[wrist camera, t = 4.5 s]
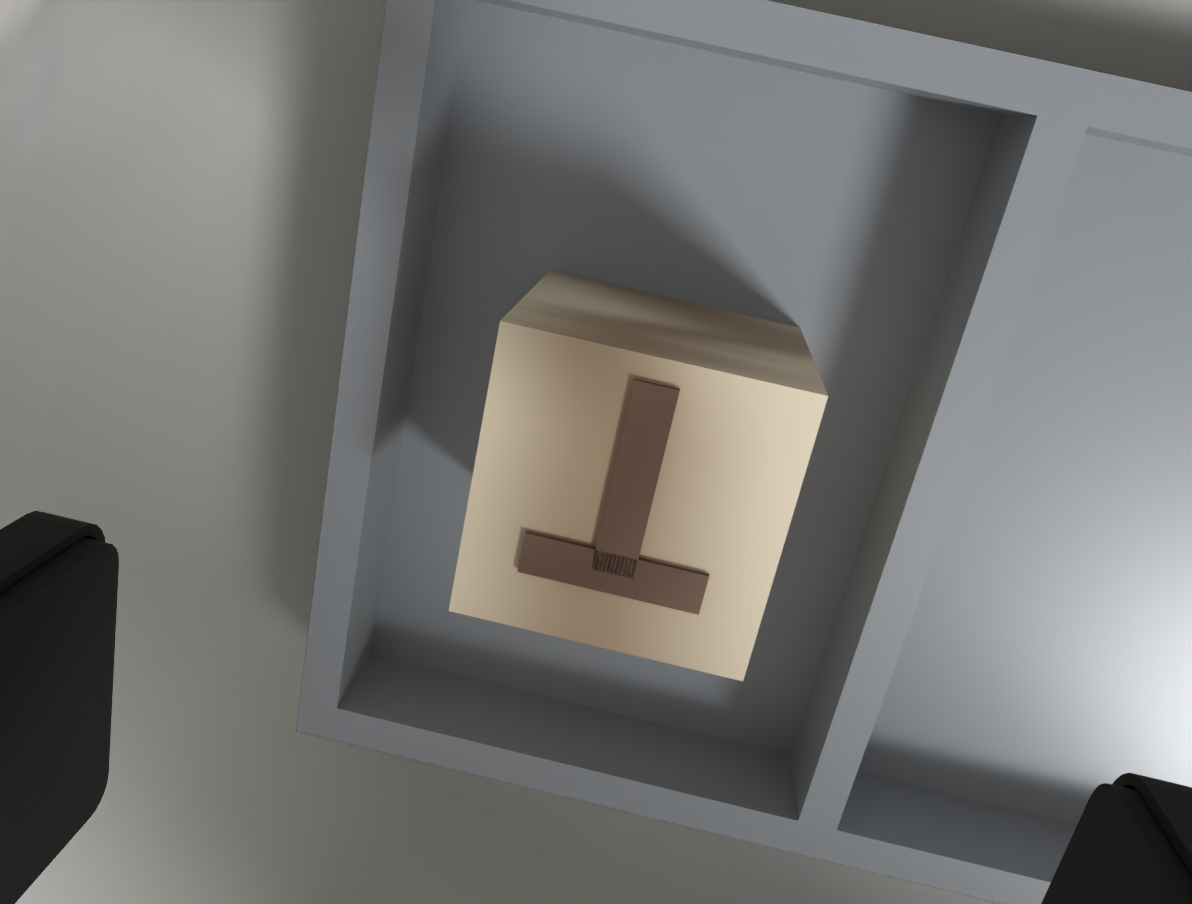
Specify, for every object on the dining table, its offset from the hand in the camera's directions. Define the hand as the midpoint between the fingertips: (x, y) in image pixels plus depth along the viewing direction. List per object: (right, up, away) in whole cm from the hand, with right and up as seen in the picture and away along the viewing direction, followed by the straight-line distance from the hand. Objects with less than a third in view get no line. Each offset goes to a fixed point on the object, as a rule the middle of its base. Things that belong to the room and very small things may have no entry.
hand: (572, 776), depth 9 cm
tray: (+7, +3, +11) cm, 13 cm away
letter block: (+1, +4, +11) cm, 12 cm away
